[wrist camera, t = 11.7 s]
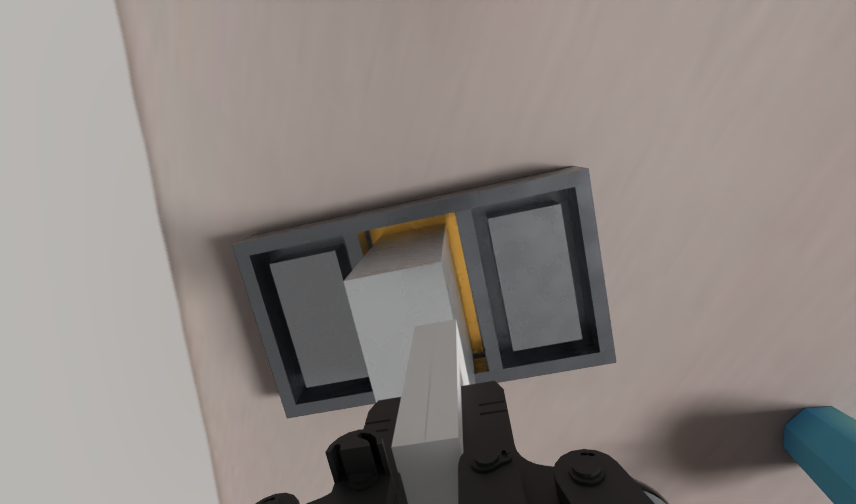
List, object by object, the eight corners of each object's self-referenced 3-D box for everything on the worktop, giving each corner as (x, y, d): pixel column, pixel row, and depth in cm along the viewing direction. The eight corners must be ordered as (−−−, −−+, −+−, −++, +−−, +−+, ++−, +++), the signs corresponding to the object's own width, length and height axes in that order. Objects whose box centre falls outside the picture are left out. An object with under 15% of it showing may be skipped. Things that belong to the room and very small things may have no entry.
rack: (253, 235, 36) (232, 244, 32) (574, 166, 33) (588, 168, 30) (303, 397, 39) (288, 421, 35) (601, 345, 36) (616, 366, 33)
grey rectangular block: (381, 236, 35) (343, 281, 23) (445, 222, 34) (440, 261, 22) (410, 355, 37) (389, 453, 25) (471, 344, 36) (479, 439, 25)
